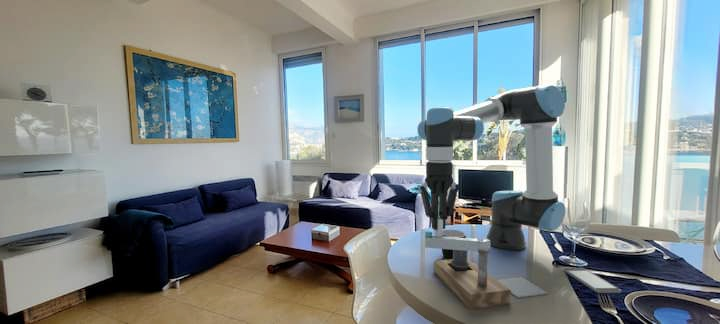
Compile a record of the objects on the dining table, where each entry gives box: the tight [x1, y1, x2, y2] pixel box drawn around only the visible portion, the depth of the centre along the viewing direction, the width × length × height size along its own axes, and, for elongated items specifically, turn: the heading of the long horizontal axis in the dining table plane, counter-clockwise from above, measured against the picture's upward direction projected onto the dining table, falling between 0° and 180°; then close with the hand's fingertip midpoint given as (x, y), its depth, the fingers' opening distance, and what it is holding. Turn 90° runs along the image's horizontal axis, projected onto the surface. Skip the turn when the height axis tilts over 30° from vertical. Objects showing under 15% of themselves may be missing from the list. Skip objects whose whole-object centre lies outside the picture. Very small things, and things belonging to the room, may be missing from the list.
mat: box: [497, 276, 548, 299], centre depth 88 cm, size 10×10×1 cm
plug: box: [451, 250, 469, 272], centre depth 94 cm, size 5×5×13 cm
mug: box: [441, 228, 467, 260], centre depth 111 cm, size 12×9×10 cm
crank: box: [424, 230, 491, 254], centre depth 83 cm, size 18×4×4 cm, turn 77°
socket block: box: [433, 252, 512, 310], centre depth 89 cm, size 12×22×14 cm, turn 12°
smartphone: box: [563, 267, 622, 294], centre depth 92 cm, size 7×1×15 cm
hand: (438, 239), depth 87 cm, fingers closed
